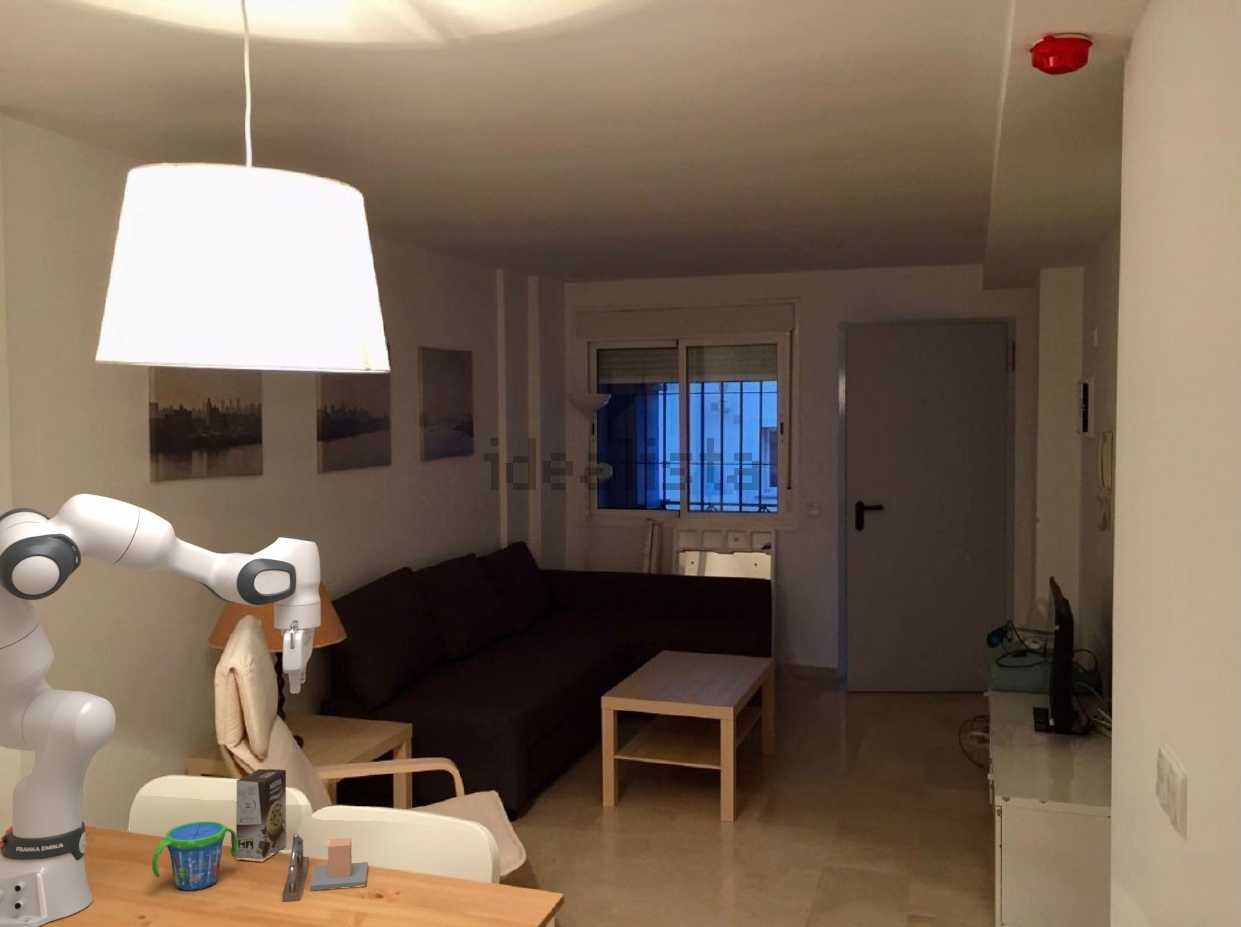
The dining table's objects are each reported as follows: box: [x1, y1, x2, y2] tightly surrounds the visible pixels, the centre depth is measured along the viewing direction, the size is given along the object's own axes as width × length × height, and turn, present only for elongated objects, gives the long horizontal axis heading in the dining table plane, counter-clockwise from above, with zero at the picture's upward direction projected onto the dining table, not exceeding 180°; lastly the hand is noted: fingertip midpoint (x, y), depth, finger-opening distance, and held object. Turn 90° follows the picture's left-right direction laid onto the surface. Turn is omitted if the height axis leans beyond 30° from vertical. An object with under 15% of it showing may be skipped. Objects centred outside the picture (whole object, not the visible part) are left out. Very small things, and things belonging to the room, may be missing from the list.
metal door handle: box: [281, 833, 310, 903], centre depth 203 cm, size 3×18×9 cm, turn 11°
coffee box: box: [235, 768, 287, 859], centre depth 218 cm, size 9×6×16 cm
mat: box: [309, 861, 369, 892], centre depth 205 cm, size 10×10×1 cm
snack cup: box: [151, 821, 238, 891], centre depth 202 cm, size 16×10×10 cm
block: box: [327, 837, 352, 878], centre depth 204 cm, size 4×4×6 cm
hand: (297, 687), depth 212 cm, fingers open, 8 cm apart
